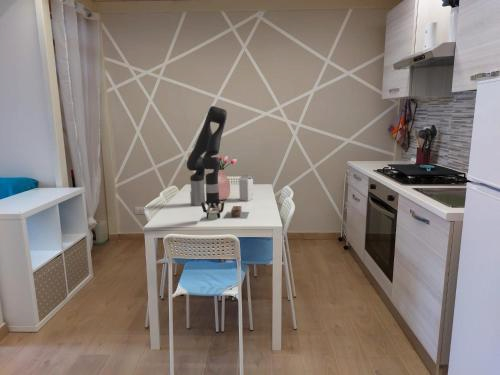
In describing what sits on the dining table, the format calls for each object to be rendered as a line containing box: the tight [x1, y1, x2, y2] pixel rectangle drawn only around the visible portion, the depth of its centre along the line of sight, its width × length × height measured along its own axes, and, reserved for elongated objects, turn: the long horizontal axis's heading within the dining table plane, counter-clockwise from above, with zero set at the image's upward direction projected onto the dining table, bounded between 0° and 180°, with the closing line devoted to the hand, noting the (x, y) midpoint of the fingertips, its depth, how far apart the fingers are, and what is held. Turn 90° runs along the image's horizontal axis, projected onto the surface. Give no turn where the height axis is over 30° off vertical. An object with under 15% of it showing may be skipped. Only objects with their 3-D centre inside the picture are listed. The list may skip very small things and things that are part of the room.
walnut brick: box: [230, 205, 243, 217], centre depth 219 cm, size 5×8×4 cm, turn 174°
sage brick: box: [207, 210, 218, 221], centre depth 215 cm, size 5×8×4 cm, turn 178°
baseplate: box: [223, 211, 250, 220], centre depth 220 cm, size 14×14×2 cm
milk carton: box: [238, 173, 254, 202], centre depth 261 cm, size 7×7×19 cm
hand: (213, 218), depth 215 cm, fingers closed on sage brick, 5 cm apart
